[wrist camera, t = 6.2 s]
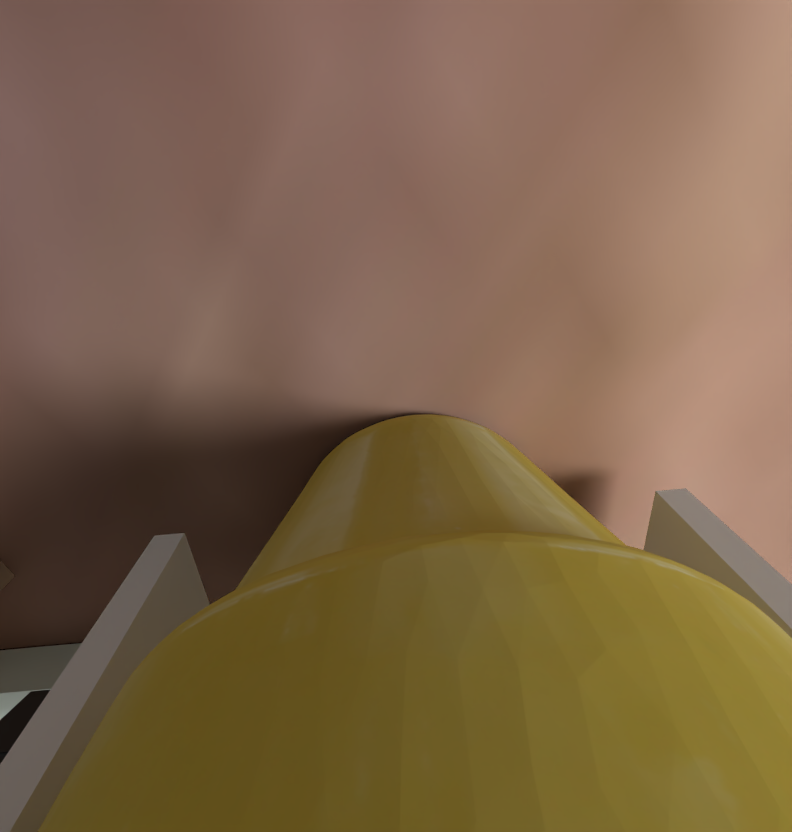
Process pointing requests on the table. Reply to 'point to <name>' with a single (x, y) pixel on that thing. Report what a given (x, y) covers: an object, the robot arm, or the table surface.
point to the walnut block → (5, 575)
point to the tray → (30, 671)
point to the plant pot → (448, 671)
